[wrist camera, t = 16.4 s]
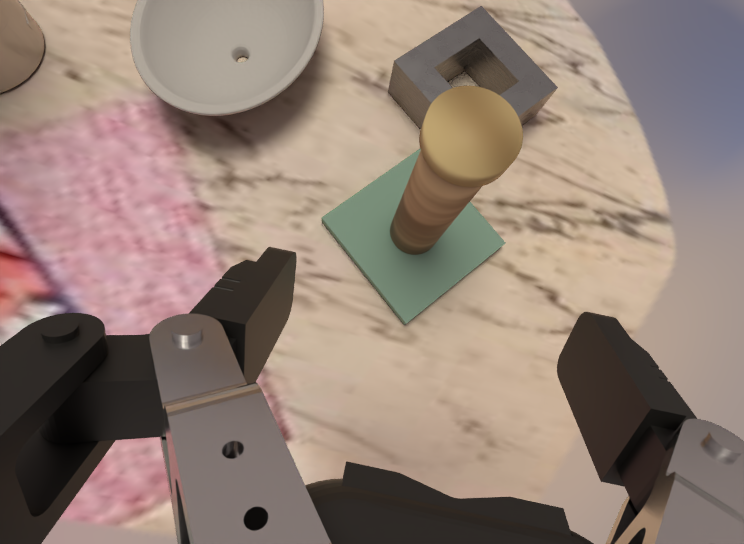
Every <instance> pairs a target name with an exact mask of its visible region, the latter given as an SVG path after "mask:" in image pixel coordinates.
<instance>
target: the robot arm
mask: <svg viewBox="0 0 744 544" xmlns="http://www.w3.org/2000/svg"><path fill="white" fill-rule="evenodd" d="M43 52H44V38H43V34H42V31H41V29H40V27H39V26H38V24H37V23H36V21H35V20H34V19H33V18H32V17H31V16H30V14H29V13H28V12H27V11H26V9H25V8H24V7H23V5H22V4H21V3H20V2H19V1H18V0H0V93H1V92H4V91H7V90H9V89H11V88H13V87H15V86H17V85H19V84H21V83H22V82H23V81H24V80H26V79H27V78H28V77H29V76H30V75H31V74H32V73H33V72H34V71H35V70H36V68H37V67H38V65H39V63H40V61H41V59H42V56H43ZM295 270H296V253H295V252H291V251H287V250H282V249H277V248H272V247H268V248H267V249H266V251H265V252H264V253H263V254H262V255H261V257H260V258H259V259H258V260H257V262H254V261H249V260H245V261H243V262H241V263H239V264H237V265H235V266H232V267H231V268H230V269H229V270H228V271H227V272H226V273H225V274H224V275H223V277H222V279H220V280H219V281H218V282H217V283H216V284H215V286H214V288H212V289H211V290H210V291H209V292H208V293H207V294H206V295H205V296H204V297H203V298H202V300H201V301H200V302H199V303H198V304H197V305H196V306H195V307H194V308H193V309H192V311H191V312H190V313H189V314H181V315H176V316H173V317H169V318H167V319H165V320H163V321H161V322H160V323H158V324H157V325H156V326H155V327H154V328H153V329H152V331H151V332H150V334H145V335H106V333H105V327H104V324H103V322H102V321H101V320H100V319H98V318H97V317H95V316H92V315H88V314H82V313H65V314H58V315H54V316H50V317H46V318H43V319H41V320H38V321H36V322H34V323H32V324H30V325H28V326H27V327H25V328H24V329H22V330H21V331H20V332H18V333H17V334H16V335H14V336H13V337H12V338H10V339H9V340H8V341H6V342H5V343H4V344H2V345H1V346H0V544H41V543H42V542H43V540H44V539H45V538H46V536H47V535H48V533H49V532H50V531H51V529H52V528H53V526H54V525H55V524H56V522H57V521H58V519H59V518H60V517H61V515H62V514H63V512H64V511H65V510H66V508H67V507H68V506H69V504H70V503H71V501H72V500H73V499H74V497H75V496H76V494H77V493H78V492H79V490H80V489H81V487H82V486H83V485H84V483H85V482H86V481H87V479H88V478H89V476H90V475H91V474H92V472H93V471H94V469H95V468H96V467H97V465H98V464H99V462H100V461H101V460H102V458H103V457H104V456H105V454H106V453H107V451H108V450H109V449H110V447H111V446H112V444H113V443H114V442H115V440H122V439H136V438H150V437H160V441H161V447H162V452H163V458H164V463H165V469H166V474H167V480H168V485H169V491H170V497H171V502H172V508H173V514H174V521H175V528H176V535H177V542H178V544H593V543H592V542H590V541H589V540H587V539H585V538H584V537H582V536H580V535H578V534H577V533H575V532H573V531H571V530H570V529H569V525H568V522H567V519H566V516H565V512H564V509H563V508H559V507H554V506H549V505H545V504H541V503H536V502H531V501H527V500H522V499H517V498H513V497H492V498H467V499H457V498H453V497H450V496H448V495H446V494H443V493H441V492H439V491H437V490H435V489H433V488H431V487H428V486H426V485H424V484H422V483H420V482H418V481H416V480H413V479H411V478H409V477H407V476H405V475H403V474H400V473H397V472H393V471H388V470H383V469H379V468H374V467H369V466H365V465H360V464H356V463H351V462H346V466H345V470H344V475H343V479H331V480H325V481H319V482H315V483H312V484H309V485H305V484H304V482H303V480H302V478H301V476H300V473H299V471H298V469H297V467H296V465H295V462H294V460H293V458H292V456H291V454H290V451H289V449H288V447H287V445H286V443H285V440H284V438H283V436H282V434H281V432H280V429H279V427H278V425H277V423H276V421H275V418H274V416H273V414H272V412H271V410H270V407H269V405H268V403H267V401H266V399H265V396H264V394H263V392H262V390H261V388H260V386H259V385H258V384H257V383H256V380H257V378H258V376H259V374H260V373H261V371H262V369H263V367H264V365H265V363H266V361H267V359H268V357H269V355H270V353H271V351H272V349H273V347H274V346H275V344H276V342H277V340H278V338H279V336H280V334H281V332H282V330H283V328H284V326H285V324H286V322H287V320H288V318H289V315H290V311H291V307H292V301H293V291H294V281H295ZM557 374H558V378H559V381H560V383H561V385H562V388H563V390H564V393H565V395H566V398H567V400H568V402H569V405H570V407H571V410H572V412H573V415H574V417H575V420H576V422H577V424H578V427H579V429H580V432H581V434H582V436H583V439H584V441H585V444H586V446H587V449H588V451H589V454H590V456H591V458H592V461H593V463H594V466H595V468H596V471H597V473H598V475H599V478H600V480H601V482H606V483H611V484H616V485H620V486H625V488H626V490H627V493H628V495H629V496H628V497H627V498H626V500H625V501H624V503H623V504H622V506H621V509H620V511H619V513H618V516H617V518H616V521H615V523H614V525H613V527H612V530H611V532H610V534H609V537H608V539H607V542H606V544H744V441H743V440H742V439H740V438H739V437H738V436H736V435H735V434H733V433H732V432H730V431H728V430H726V429H725V428H723V427H721V426H719V425H716V424H714V423H712V422H709V421H706V420H701V419H697V418H696V416H695V415H694V414H693V412H692V411H691V409H690V408H689V407H688V406H687V404H686V403H685V402H684V400H683V399H682V397H681V396H680V395H679V393H678V392H677V391H676V389H675V388H674V387H673V385H672V384H671V383H670V382H668V381H667V377H666V376H665V375H664V373H663V372H662V371H661V370H659V367H658V365H657V364H656V363H655V361H654V360H653V359H652V357H651V356H650V354H649V353H648V352H647V351H645V350H644V349H643V348H642V347H640V346H639V345H638V344H637V343H636V342H634V341H633V340H632V339H631V338H630V337H629V335H628V334H627V333H626V331H625V330H624V328H623V327H622V326H621V324H620V323H619V322H618V320H617V319H616V318H614V317H610V316H605V315H600V314H595V313H590V312H584V313H582V314H581V315H580V316H579V318H578V320H577V322H576V324H575V326H574V328H573V330H572V332H571V334H570V336H569V338H568V340H567V342H566V344H565V346H564V348H563V350H562V352H561V354H560V356H559V359H558V364H557Z"/></svg>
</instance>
